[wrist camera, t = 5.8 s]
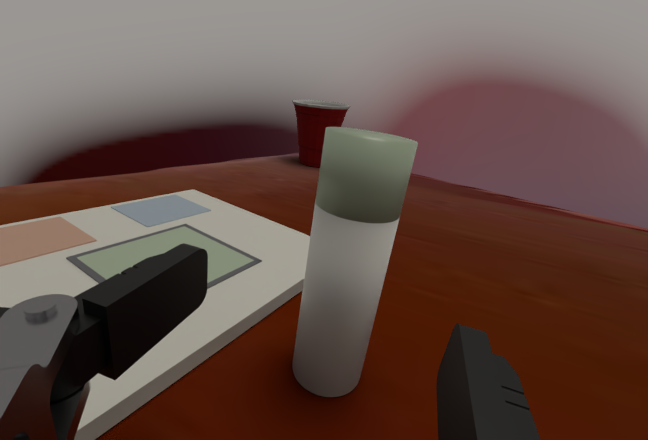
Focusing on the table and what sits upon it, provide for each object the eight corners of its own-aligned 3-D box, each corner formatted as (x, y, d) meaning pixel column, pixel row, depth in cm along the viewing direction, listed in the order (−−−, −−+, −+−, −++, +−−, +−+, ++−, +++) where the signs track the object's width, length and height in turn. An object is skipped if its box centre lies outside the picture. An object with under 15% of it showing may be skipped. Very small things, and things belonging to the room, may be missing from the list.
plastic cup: (274, 158, 64) (280, 94, 60) (314, 157, 71) (322, 100, 67) (311, 172, 57) (320, 101, 53) (350, 169, 65) (362, 106, 60)
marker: (371, 363, 18) (428, 141, 13) (339, 411, 15) (399, 146, 10) (316, 333, 19) (351, 126, 15) (278, 370, 16) (307, 126, 12)
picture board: (343, 260, 28) (345, 249, 28) (12, 498, 10) (4, 476, 10) (193, 197, 37) (193, 188, 37) (-124, 264, 19) (-131, 248, 19)
